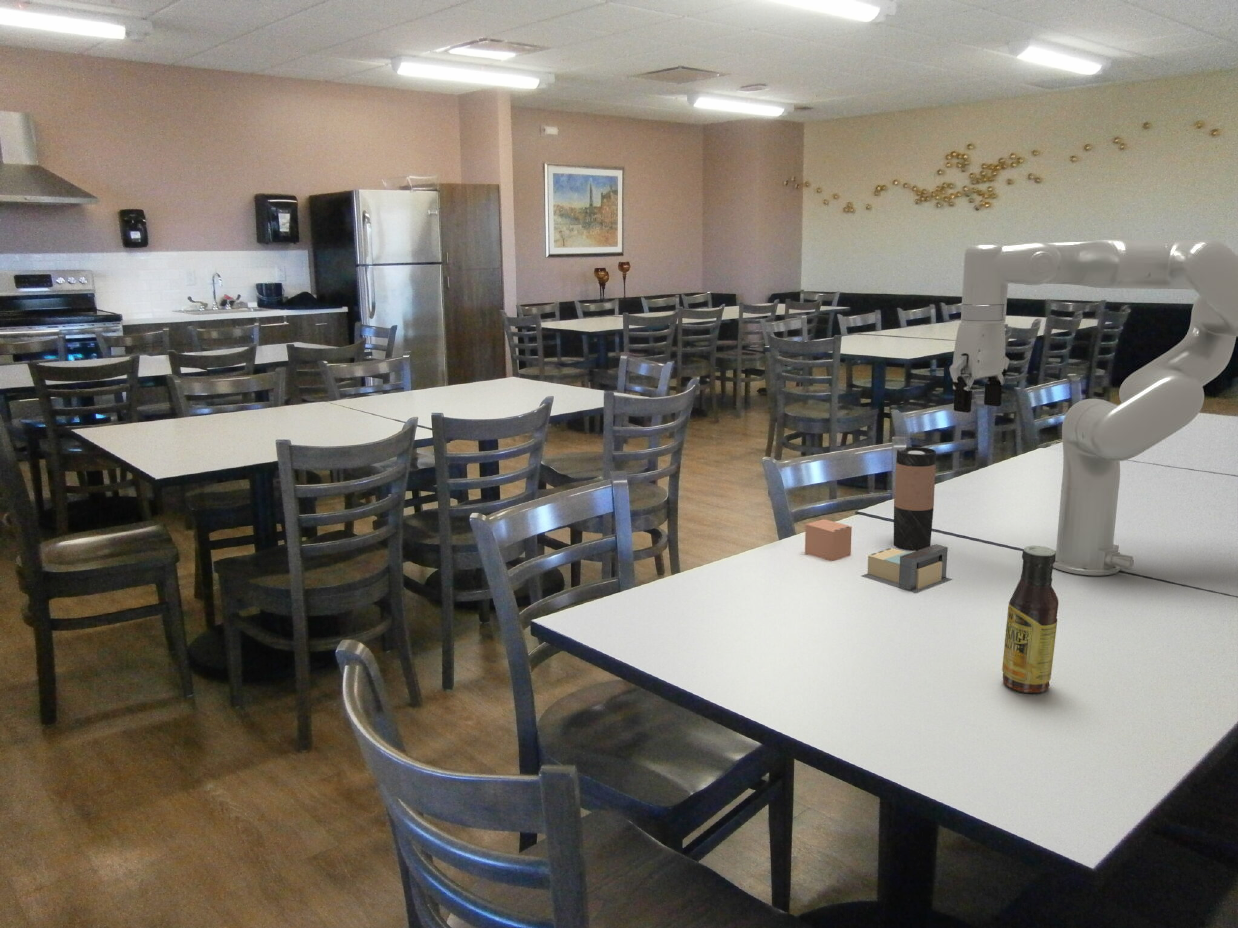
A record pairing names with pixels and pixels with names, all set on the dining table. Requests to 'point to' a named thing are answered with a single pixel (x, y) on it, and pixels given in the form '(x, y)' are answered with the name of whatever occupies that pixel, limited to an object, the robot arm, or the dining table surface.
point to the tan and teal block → (889, 564)
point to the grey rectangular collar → (920, 564)
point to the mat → (898, 583)
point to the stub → (828, 539)
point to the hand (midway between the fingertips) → (977, 408)
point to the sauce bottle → (1031, 624)
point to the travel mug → (914, 498)
